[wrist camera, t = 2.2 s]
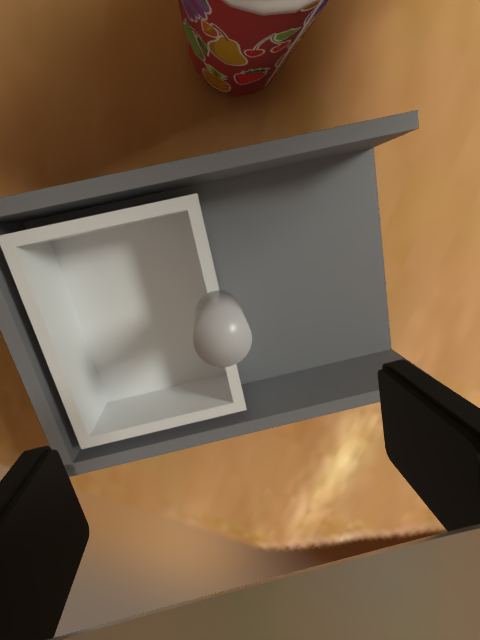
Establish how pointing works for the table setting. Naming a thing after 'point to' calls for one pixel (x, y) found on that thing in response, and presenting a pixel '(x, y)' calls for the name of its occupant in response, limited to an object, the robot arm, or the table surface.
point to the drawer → (132, 319)
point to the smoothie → (244, 38)
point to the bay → (246, 278)
